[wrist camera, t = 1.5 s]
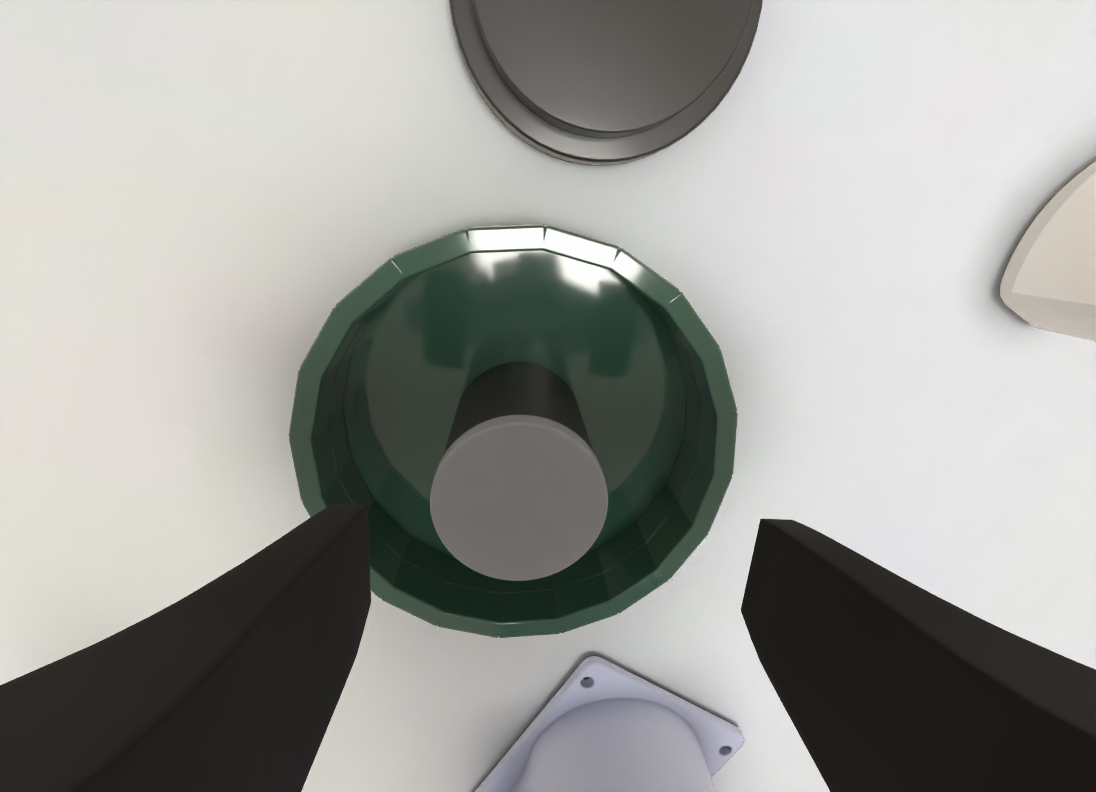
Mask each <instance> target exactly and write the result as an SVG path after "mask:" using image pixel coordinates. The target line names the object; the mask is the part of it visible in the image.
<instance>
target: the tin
mask: <svg viewBox="0 0 1096 792" xmlns="http://www.w3.org/2000/svg"><path fill="white" fill-rule="evenodd" d="M521 362H522V363H530V364H534V365H538V366H541V367H543V368H546V369H548V370H550V371H551V372H553V373H555V374H556V375H557V376H559V377H560V378H561V379H562V380H563V381H564V382H565V383H566V384H567V385H568V387H569V388H570V389H571V391H572V393H573V394H574V396H575V399H576V401H577V404H578V407H579V410H580V413H581V416H582V419H583V422H584V425H585V428H586V431H587V434H588V437H589V440H590V443H591V445H592V448H593V451H594V454H595V456H596V457H597V459H598V461H599V464H600V466H601V469H602V472H603V474H604V477H605V481H606V485H607V492H608V509H607V514H606V519H605V522H604V525H603V528H602V530H601V532H600V534H599V536H598V537H597V539H596V540H595V542H594V543H593V545H592V546H591V547H590V549H589V550H588V551H587V552H586V553H585V554H584V555H583V556H582V557H581V558H580V559H578V560H577V561H576V562H575V563H573V564H572V565H570V566H569V567H567V568H565V569H563V570H561V571H559V572H557V573H555V574H552V575H549V576H546V577H543V578H539V579H533V580H524V581H512V580H502V579H497V578H493V577H489V576H486V575H483V574H481V573H479V572H476V571H474V570H472V569H471V568H469V567H467V566H466V565H464V564H463V563H461V562H460V561H459V560H458V559H456V558H455V557H454V556H453V555H452V554H451V553H450V552H449V551H448V549H447V548H446V547H445V545H444V544H443V543H442V541H441V539H440V537H439V536H438V534H437V532H436V529H435V527H434V524H433V521H432V516H431V510H430V495H431V488H432V484H433V480H434V477H435V473H436V471H437V468H438V466H439V463H440V461H441V459H442V458H443V454H444V451H445V448H446V444H447V441H448V438H449V434H450V431H451V428H452V424H453V421H454V418H455V414H456V411H457V408H458V404H459V402H460V399H461V397H462V395H463V393H464V391H465V390H466V389H467V387H468V386H469V385H470V383H471V382H472V381H473V380H474V379H475V378H477V377H478V376H479V375H481V374H482V373H483V372H485V371H487V370H489V369H491V368H493V367H496V366H499V365H502V364H507V363H521ZM736 428H737V408H736V404H735V400H734V397H733V393H732V389H731V385H730V382H729V378H728V374H727V371H726V367H725V363H724V359H723V356H722V352H721V350H720V349H719V345H718V344H717V342H716V341H715V339H714V338H713V336H712V335H711V334H710V332H709V331H708V329H707V328H706V326H705V325H704V323H703V322H702V321H701V319H700V318H699V316H698V315H697V313H696V312H695V311H694V309H693V308H692V306H691V305H690V303H689V302H688V300H687V299H686V298H685V296H684V295H683V293H682V292H680V291H679V289H678V288H676V287H675V286H674V285H672V284H671V283H669V282H668V281H667V280H665V279H664V278H662V277H661V276H660V275H658V274H657V273H655V272H654V271H653V270H651V269H650V268H649V267H647V266H646V265H644V264H643V263H642V262H640V261H639V260H637V259H636V258H635V257H633V256H632V255H630V254H629V253H628V252H626V251H625V250H623V249H621V248H619V247H618V246H615V245H611V244H608V243H605V242H601V241H598V240H595V239H591V238H588V237H584V236H581V235H578V234H574V233H571V232H568V231H564V230H561V229H558V228H554V227H551V226H547V225H544V224H518V225H492V226H475V227H470V228H465V229H462V230H459V231H457V232H454V233H452V234H449V235H446V236H444V237H441V238H439V239H436V240H433V241H431V242H428V243H426V244H423V245H421V246H418V247H415V248H413V249H410V250H408V251H405V252H403V253H400V254H397V255H395V256H394V257H393V258H390V259H389V260H387V261H386V262H385V263H384V264H383V265H382V266H380V267H379V268H378V269H377V270H376V271H375V272H373V273H372V274H371V275H370V276H369V277H368V278H367V279H365V280H364V281H363V282H362V283H361V284H360V285H358V286H357V287H356V288H355V289H354V290H353V291H351V292H350V293H349V294H348V295H347V296H346V297H344V298H343V299H342V300H341V301H340V302H339V303H337V304H336V307H335V308H333V309H332V311H331V313H330V315H329V317H328V318H327V320H326V322H325V324H324V326H323V327H322V329H321V331H320V333H319V334H318V336H317V338H316V340H315V342H314V343H313V345H312V347H311V349H310V351H309V352H308V354H307V356H306V358H305V359H304V361H303V363H302V365H301V367H300V370H299V372H298V378H297V385H296V391H295V398H294V404H293V411H292V417H291V424H290V430H289V437H290V438H289V441H290V446H291V451H292V456H293V461H294V466H295V471H296V476H297V481H298V486H299V491H300V496H301V500H302V501H303V505H304V507H305V508H306V510H307V512H308V513H309V515H310V517H312V516H314V515H315V514H317V513H318V512H320V511H321V510H323V509H325V508H326V507H328V506H330V505H332V504H350V505H368V526H369V557H370V589H371V591H372V592H373V593H374V594H376V595H377V596H378V597H379V598H382V600H383V601H385V602H387V603H389V604H391V605H394V606H396V607H398V608H400V609H402V610H404V611H406V612H408V613H410V614H412V615H414V616H416V617H418V618H420V619H422V620H424V621H427V622H429V623H431V624H433V625H435V626H437V625H438V626H439V627H442V628H448V629H453V630H458V631H464V632H469V633H474V634H480V635H485V636H490V637H496V638H497V637H498V636H499V638H506V637H520V636H534V635H548V634H559V633H560V632H561V633H564V632H566V631H569V630H572V629H575V628H578V627H581V626H584V625H587V624H590V623H593V622H596V621H599V620H602V619H605V618H608V617H611V616H613V615H616V614H618V613H621V612H622V611H624V610H625V609H627V608H628V607H630V606H631V605H633V604H634V603H636V602H637V601H639V600H640V599H641V598H643V597H644V596H646V595H647V594H649V593H650V592H652V591H653V590H655V589H656V588H658V587H659V586H661V585H662V584H664V583H665V582H667V581H668V580H669V579H670V578H671V577H672V576H673V575H674V574H675V573H676V571H677V570H678V569H679V568H680V567H681V565H682V564H683V563H684V562H685V561H686V560H687V558H688V557H689V556H690V555H691V554H692V552H693V551H694V550H695V549H696V548H697V546H698V545H699V544H700V543H701V542H702V540H703V539H704V538H705V537H706V536H707V535H708V532H709V531H710V529H711V526H712V524H713V521H714V519H715V517H716V514H717V512H718V510H719V507H720V505H721V502H722V500H723V498H724V495H725V493H726V491H727V488H728V486H729V483H730V481H731V479H732V475H733V467H734V454H735V441H736Z"/></svg>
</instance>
